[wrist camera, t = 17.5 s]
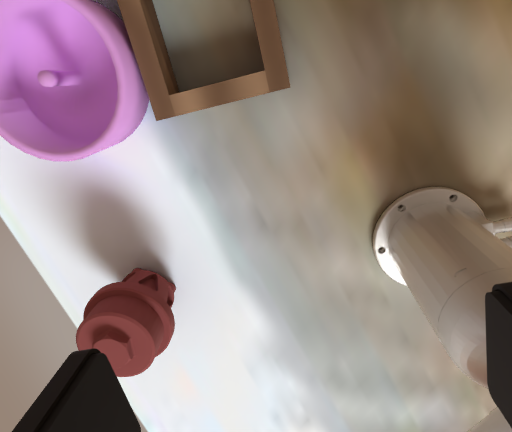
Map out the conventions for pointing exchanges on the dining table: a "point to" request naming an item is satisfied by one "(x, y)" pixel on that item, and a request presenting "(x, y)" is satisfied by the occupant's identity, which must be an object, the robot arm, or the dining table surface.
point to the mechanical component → (129, 321)
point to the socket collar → (177, 103)
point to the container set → (67, 78)
